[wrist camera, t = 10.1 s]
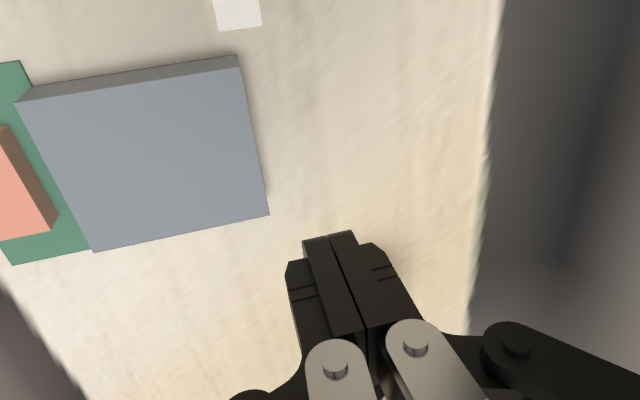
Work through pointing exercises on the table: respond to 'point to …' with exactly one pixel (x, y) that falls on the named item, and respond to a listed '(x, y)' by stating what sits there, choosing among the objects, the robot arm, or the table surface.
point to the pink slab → (21, 193)
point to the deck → (150, 150)
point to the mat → (66, 236)
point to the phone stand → (237, 14)
